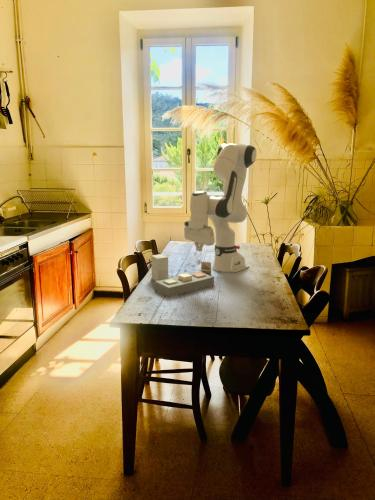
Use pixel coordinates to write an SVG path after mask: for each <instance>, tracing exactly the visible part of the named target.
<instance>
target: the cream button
mask: <svg viewBox="0 0 375 500" xmlns="http://www.w3.org/2000/svg"><path fill="white" fill-rule="evenodd" d="M189 274H190V273H181V274H178V279H179V280H181V281H184V282H185V281H189V280H192V276H191V275H189Z"/></svg>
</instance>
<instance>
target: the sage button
mask: <svg viewBox="0 0 375 500" xmlns="http://www.w3.org/2000/svg"><path fill="white" fill-rule="evenodd" d="M163 282H164V283H165V284H167V285H172V284H176V283H177V281H175V280H173V279H170V280H165V281H163Z"/></svg>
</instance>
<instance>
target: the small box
mask: <svg viewBox="0 0 375 500" xmlns="http://www.w3.org/2000/svg"><path fill="white" fill-rule="evenodd" d="M168 278H169V257H168V256H166V255H164V254H162V253H161V254H160V253H159V254H151V279H152V280H153V281H154V282H155V281H159V280H163V279H168Z"/></svg>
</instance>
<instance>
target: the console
mask: <svg viewBox="0 0 375 500" xmlns="http://www.w3.org/2000/svg"><path fill="white" fill-rule="evenodd" d="M197 273H202V272H201V271H197V272H196V271H195V272H191V273H188V274H189V275H191V276H192V280H189V281H185V282H184V281H181V280H179V279H178V276H174V277H168V279H163V280H159V281H155V280H154V290H155V291H156V292H158V291H159V292H158V293H160V294H163V296H166V297H169V298H171V297H175V296H178V295H181V294H185V293H191V292H193V291H197V290H201V289H202V290H203V289H206V288H209V287H214V286H215V276H214V275H213V276H212V275H210V274H208V275H207V274H205V273H202V274H204V275H206V277H202V278H196V277H194V276H193V274H197ZM170 279H173V280H175V281H177V283H176V284H172V285H167V284H165V283H164V282H163V281H165V280H170Z"/></svg>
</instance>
